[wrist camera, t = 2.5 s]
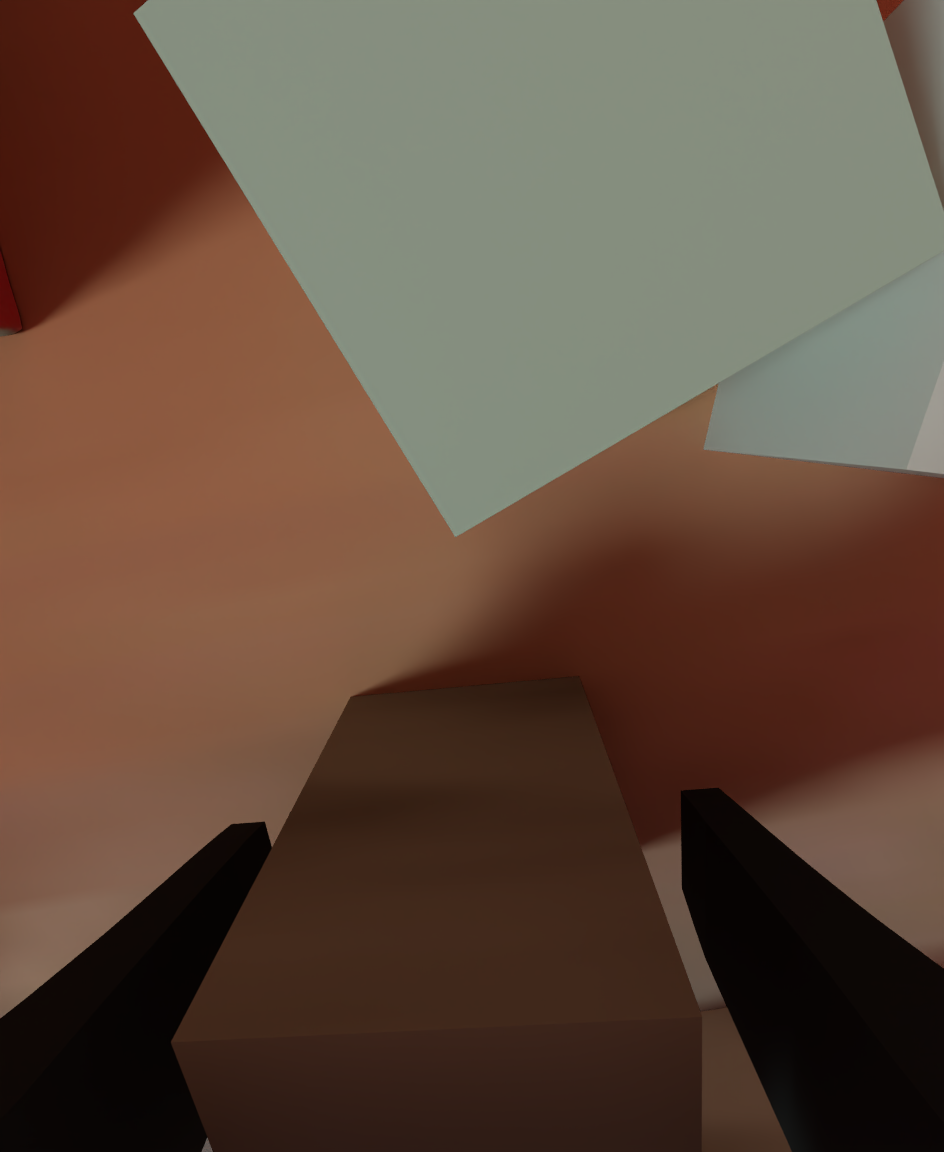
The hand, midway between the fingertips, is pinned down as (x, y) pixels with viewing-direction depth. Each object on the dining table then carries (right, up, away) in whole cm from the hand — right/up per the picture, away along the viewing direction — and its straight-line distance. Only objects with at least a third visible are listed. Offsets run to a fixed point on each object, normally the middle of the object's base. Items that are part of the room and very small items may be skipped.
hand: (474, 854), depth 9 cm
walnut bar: (0, 0, +2) cm, 2 cm away
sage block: (+1, +9, -1) cm, 9 cm away
